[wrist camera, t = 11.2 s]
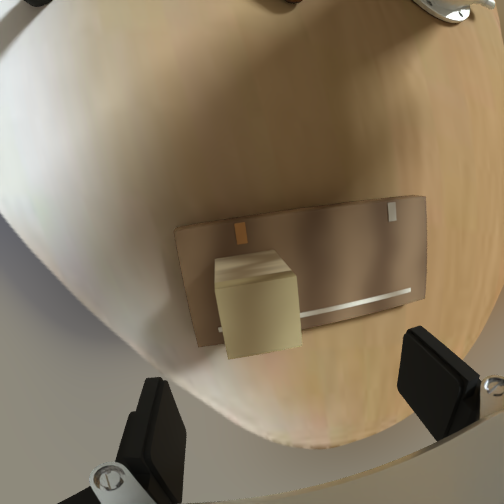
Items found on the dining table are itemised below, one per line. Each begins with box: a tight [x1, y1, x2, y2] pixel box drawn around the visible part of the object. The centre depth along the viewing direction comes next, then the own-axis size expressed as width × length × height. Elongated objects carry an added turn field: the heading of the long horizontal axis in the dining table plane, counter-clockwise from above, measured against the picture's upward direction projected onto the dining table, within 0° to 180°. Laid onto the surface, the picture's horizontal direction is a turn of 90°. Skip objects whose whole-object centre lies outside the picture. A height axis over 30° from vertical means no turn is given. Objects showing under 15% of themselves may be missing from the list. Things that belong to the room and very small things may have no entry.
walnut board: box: [174, 195, 427, 347], centre depth 26 cm, size 22×10×2 cm, turn 98°
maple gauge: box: [215, 250, 302, 359], centre depth 21 cm, size 5×5×7 cm
